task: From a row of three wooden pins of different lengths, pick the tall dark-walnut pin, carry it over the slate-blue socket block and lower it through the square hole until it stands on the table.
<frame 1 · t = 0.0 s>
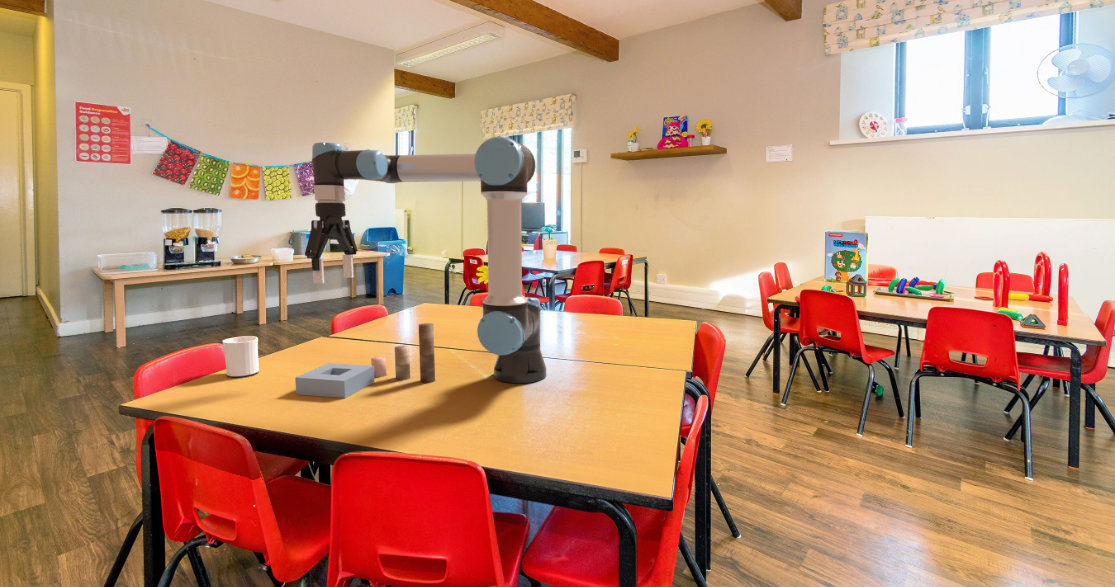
hand: (334, 280, 150), 28 cm above the table, fingers open, 13 cm apart
pin short: (379, 375, 157), on the table
pin long: (427, 380, 152), on the table
mug: (241, 374, 158), on the table
pin medium: (403, 378, 154), on the table
socket: (336, 387, 145), on the table
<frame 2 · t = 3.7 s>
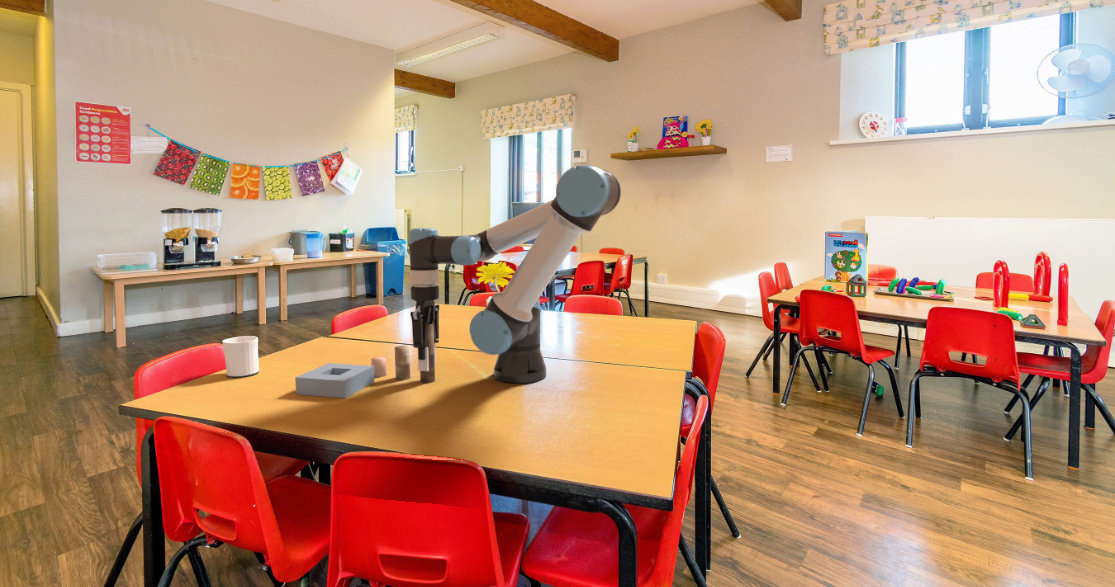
hand: (427, 368, 151), 4 cm above the table, fingers closed on pin long, 4 cm apart
pin long: (427, 380, 152), on the table, touching gripper
everything else where it was.
when the fingers open (5 cm above the table, at t = 9.3 s): pin long drops 1 cm, resting in socket.
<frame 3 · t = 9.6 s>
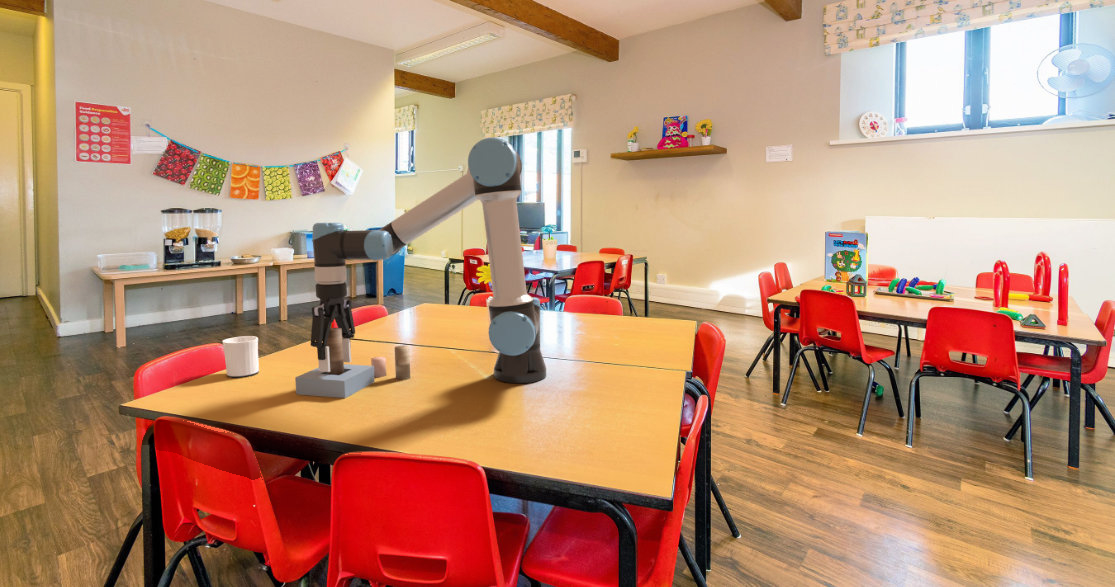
hand: (335, 366, 144), 6 cm above the table, fingers open, 9 cm apart
pin long: (336, 387, 145), resting in socket
everything else where it was.
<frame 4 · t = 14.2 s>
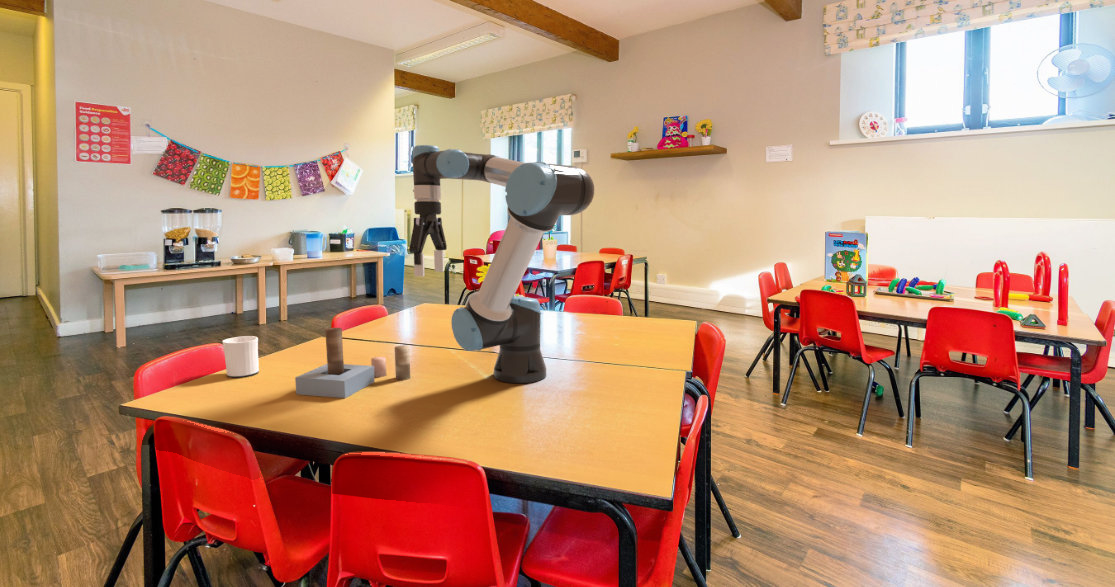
hand: (429, 273, 160), 29 cm above the table, fingers open, 13 cm apart
nothing on the table moved.
at the end: pin long 0.0 cm off-centre on the socket, point 0.0 cm above the socket's base; pin long tilted 0°; the gripper is holding nothing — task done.
